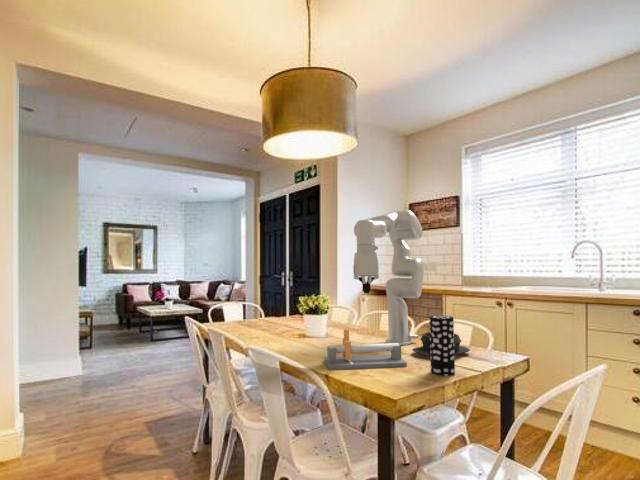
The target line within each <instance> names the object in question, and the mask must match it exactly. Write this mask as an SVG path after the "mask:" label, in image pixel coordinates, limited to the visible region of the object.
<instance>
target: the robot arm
mask: <svg viewBox="0 0 640 480" xmlns="http://www.w3.org/2000/svg"><path fill="white" fill-rule="evenodd" d="M353 233H354V236H355V237H356V252H354V257H353V267H352V268H353V279H354V280H358V281H360V282H361V284H362V292H363V294H370V292H371V284H372V282H374V281H375V280H378V279H379V278H380V276H379V274H380V273H379V272H380V271H379V270H380V268H379V266H380V265H379V259H378V255H377V252H376V251H377V250H379V246H377V245H376V243H375V241H376V239H380V238H383V237H384V236H386V234H387V233H388V235H389V239H390V241H391V244H392V247H393V254H392V255H393V256H392V262H391V263H392V264H391V274H392V275H393V276H394V277H395V278H390V279H388V280H387V281H386V283H385V293H386V299H387V312H388V313H387V316H388V317H387V318H388V321H387V322H388V329H387V330H388V338H386V339H385V343H399V345H400V346H406V345H411V344H412V340H413V339H414V340H419V335H418V334H410V333H409V324H408V323H409V315H408V314H409V313H408V311H409V310H408V309H409V308H408V304H407V303H406V301H405V300H404V299H418V298H420V296H421V295H422V291H423V283H424V282H423V281H424V275H425V266H424V263H423V262H424V261H423V260H422V259H421V258H418V257H411V253H412V251H411V248H410V246H409V245H408V244H407V243H406V242H405V241H412V240H413V241H415V240H420V239H421V238H422V236H423V228H422V224H421V223H420V221H419V219H418V217H417V216H416V214H415V213H414V212H413V211H411V210H408V209H407V210H393V211H389V212H386V213H384V214H381V215H377V216H374V217H370V218H366V219H359V220H358V221H356V223H355V225H354V227H353ZM366 277H367V279H366Z"/></svg>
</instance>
